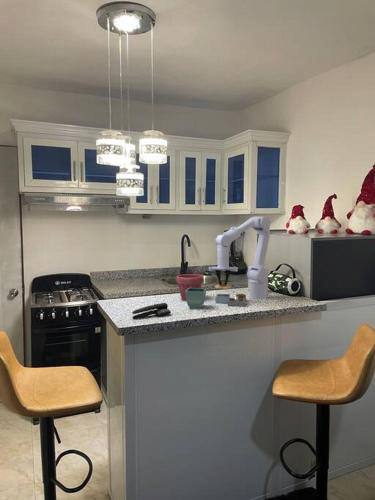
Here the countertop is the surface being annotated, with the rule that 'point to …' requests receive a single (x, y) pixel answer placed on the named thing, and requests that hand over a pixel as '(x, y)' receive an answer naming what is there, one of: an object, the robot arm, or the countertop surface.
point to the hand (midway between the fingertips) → (223, 285)
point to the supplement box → (264, 281)
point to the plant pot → (188, 283)
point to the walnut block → (241, 296)
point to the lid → (223, 285)
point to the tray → (236, 302)
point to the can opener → (152, 311)
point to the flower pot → (195, 297)
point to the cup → (222, 298)
